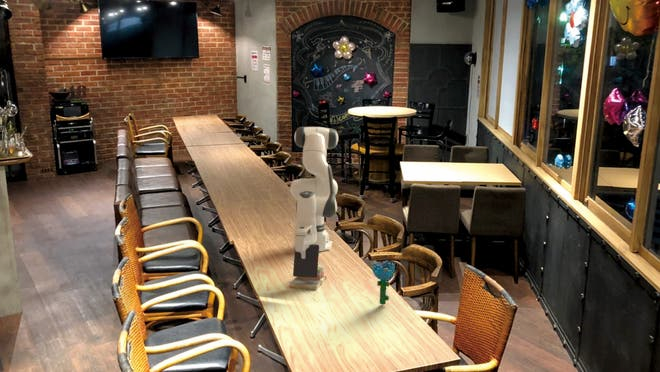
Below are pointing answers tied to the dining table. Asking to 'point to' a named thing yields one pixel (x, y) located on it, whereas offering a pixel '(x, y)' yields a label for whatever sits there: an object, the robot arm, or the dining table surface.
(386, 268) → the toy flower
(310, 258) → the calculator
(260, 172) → the dining table surface
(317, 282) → the sticky note pad set
